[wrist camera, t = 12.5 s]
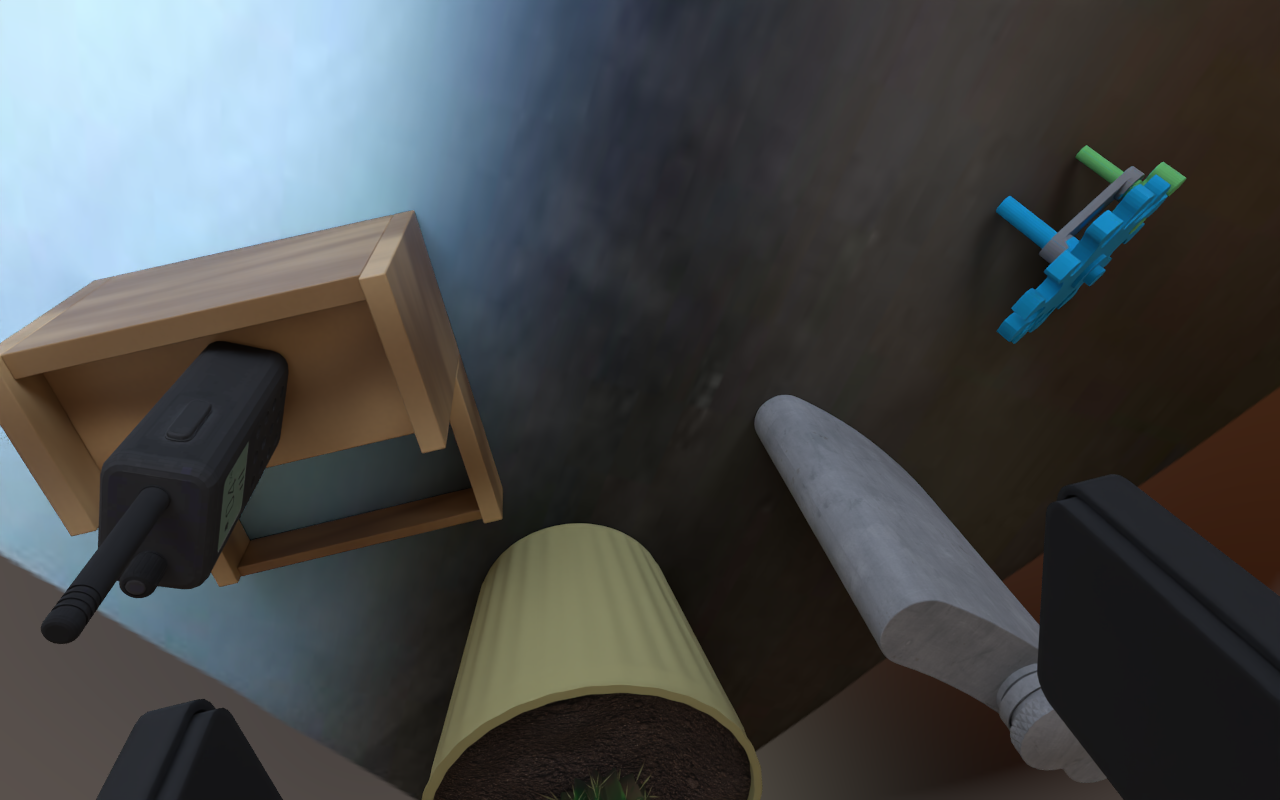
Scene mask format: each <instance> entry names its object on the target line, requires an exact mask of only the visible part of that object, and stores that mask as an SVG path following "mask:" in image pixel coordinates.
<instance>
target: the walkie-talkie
mask: <svg viewBox="0 0 1280 800" xmlns="http://www.w3.org/2000/svg"><path fill="white" fill-rule="evenodd" d="M288 374H289V370H288V363H287V361H286V359H285V358H284V357H283V356H282V355H281V354H280V353H277V352H275V351H272V350H267V349H262V348H257V347H252V346H247V345H242V344H237V343H232V342H226V341H215V342H213V343H211V344H209V345H208V346H207V347H206V348H205V349H204V350H203V351H202V352H201V353H200V355H199V356H198V357H197V358H196V359H195V360H194V361H193V363H192V364H191V365H190V366H189V367H188V368H187V369H186V370H185V372H184V373H183V374H182V375H181V376H180V377H179V378H178V379H177V381H176V382H175V383H174V384H173V385H172V386H171V387H170V389H169V390H168V391H167V392H166V393H165V394H164V395H163V396H162V398H161V399H160V400H159V401H158V402H157V403H156V404H155V405H154V407H153V408H152V409H151V410H150V411H149V412H148V413H147V415H146V416H145V417H144V418H143V419H142V420H141V421H140V422H139V424H138V425H137V426H136V427H135V428H134V429H133V430H132V432H131V433H130V434H129V435H128V436H127V437H126V438H125V439H124V441H123V442H122V443H121V444H120V445H119V446H118V447H117V448H116V450H115V451H114V452H113V453H112V454H111V455H110V456H109V458H108V459H107V460H106V461H105V462H104V463H103V466H102V470H101V473H100V498H99V534H98V550H97V551H96V552H95V554H94V555H93V556H92V558H91V559H90V560H89V562H88V563H87V564H86V565H85V567H84V568H83V569H82V571H81V572H80V573H79V575H78V576H77V577H76V579H75V580H74V581H73V583H72V584H71V585H70V587H69V588H68V589H67V591H66V592H65V593H64V595H63V596H62V597H61V599H60V600H59V601H58V603H57V604H56V606H55V607H54V608H53V609H52V611H51V612H50V613H49V614H48V616H47V617H46V619H45V620H44V621H43V623H42V626H41V632H42V634H43V636H44V637H45V638H46V639H47V640H49V641H50V642H53V643H57V644H65V643H70V642H72V641H74V640H75V639H76V638H77V637H78V636H79V635H80V634H81V632H82V631H83V629H84V627H85V626H86V625H87V623H88V622H89V620H90V619H91V617H92V616H93V615H94V613H95V611H96V610H97V609H98V607H99V605H100V604H101V603H102V601H103V600H104V598H105V597H106V595H107V594H108V593H109V591H110V590H111V588H112V587H113V585H114V584H115V582H116V581H119V585H120V588H121V590H122V591H123V592H124V593H125V594H126V595H128V596H130V597H133V598H144V597H147V596H149V595H151V594H152V593H153V592H154V590H155V589H156V587H157V586H161V587H169V588H177V589H192V588H195V587H197V586H200V585H201V584H202V583H203V582H204V581H205V580H206V579H207V578H208V577H209V575H210V573H211V571H212V569H213V567H214V566H215V564H216V562H217V560H218V558H219V556H220V554H221V552H222V550H223V548H224V546H225V545H226V543H227V541H228V539H229V537H230V535H231V533H232V531H233V529H234V527H235V526H236V524H237V522H238V520H239V518H240V516H241V514H242V512H243V510H244V508H245V506H246V505H247V503H248V501H249V499H250V497H251V495H252V493H253V491H254V489H255V487H256V486H257V484H258V482H259V480H260V478H261V476H262V474H263V472H264V470H265V468H266V466H267V465H268V463H269V461H270V459H271V457H272V455H273V453H274V451H275V449H276V447H277V446H278V443H279V441H280V437H281V429H282V421H283V413H284V405H285V397H286V390H287V382H288Z"/></svg>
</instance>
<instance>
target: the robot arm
mask: <svg viewBox="0 0 1280 800" xmlns="http://www.w3.org/2000/svg"><path fill="white" fill-rule="evenodd" d="M1037 675H1038V680H1039V684H1040V686H1041V689H1042V691H1043V693H1044V695H1045V697H1046V699H1047V701H1048V702H1049V704H1050V705H1051V706H1052V708H1053V709H1054V710H1055V711H1056V713H1057V714H1058V715H1059V717H1060V718H1061V719H1062V721H1063V722H1064V723H1065V724H1066V726H1067V727H1068V728H1069V730H1070V731H1071V732H1072V733H1073V735H1074V736H1075V737H1076V739H1077V740H1078V741H1079V743H1080V744H1081V745H1082V746H1083V748H1084V749H1085V750H1086V752H1087V753H1088V754H1089V755H1090V757H1091V758H1092V759H1093V761H1094V762H1095V763H1096V765H1097V766H1098V767H1099V768H1100V770H1101V771H1102V772H1103V774H1104V775H1105V776H1106V777H1107V779H1108V780H1109V781H1110V783H1111V784H1112V785H1113V787H1114V788H1115V789H1116V790H1117V791H1118V793H1119V794H1120V796H1121V797H1122V798H1123V799H1124V800H1280V596H1278V595H1277V594H1276V593H1274V592H1273V591H1272V590H1270V589H1269V588H1268V587H1267V586H1265V585H1264V584H1263V583H1261V582H1260V581H1259V580H1257V579H1256V578H1255V577H1253V576H1252V575H1251V574H1250V573H1248V572H1247V571H1246V570H1244V569H1243V568H1242V567H1241V566H1239V565H1238V564H1237V563H1235V562H1234V561H1233V560H1231V559H1230V558H1229V557H1228V556H1226V555H1225V554H1224V553H1222V552H1221V551H1220V550H1218V549H1217V548H1216V547H1214V546H1213V545H1212V544H1211V543H1209V542H1208V541H1207V540H1205V539H1204V538H1203V537H1202V536H1200V535H1199V534H1198V533H1196V532H1195V531H1194V530H1192V529H1191V528H1190V527H1188V526H1187V525H1186V524H1185V523H1183V522H1182V521H1180V520H1179V519H1178V518H1177V517H1175V516H1174V515H1173V514H1171V513H1170V512H1169V511H1168V510H1166V509H1165V508H1164V507H1162V506H1161V505H1160V504H1159V503H1157V502H1156V501H1155V500H1153V499H1152V498H1151V497H1149V496H1148V495H1147V494H1145V493H1144V492H1143V491H1141V490H1140V489H1139V488H1138V487H1136V486H1135V485H1134V484H1133V483H1131V482H1130V481H1129V480H1127V479H1125V478H1124V477H1122V476H1120V475H1114V474H1111V475H1107V476H1103V477H1099V478H1095V479H1091V480H1087V481H1083V482H1079V483H1075V484H1071V485H1067V486H1065V487H1062V489H1061V490H1060V492H1059V493H1058V498H1057V501H1056V502H1053V503H1051V504H1050V505H1049V506H1048V508H1047V512H1046V526H1045V543H1044V561H1043V577H1042V594H1041V612H1040V628H1039V645H1038V662H1037ZM96 800H283V799H282V798H281V796H280V794H279V793H278V791H277V789H276V787H275V786H274V784H273V782H272V781H271V779H270V778H269V776H268V774H267V772H266V771H265V769H264V768H263V766H262V764H261V762H260V761H259V759H258V758H257V756H256V754H255V753H254V751H253V749H252V747H251V746H250V744H249V742H248V741H247V739H246V737H245V736H244V734H243V732H242V731H241V729H240V727H239V726H238V724H237V723H236V721H235V719H234V718H233V716H232V714H231V713H230V712H229V711H228V710H226V709H225V708H219V709H215V708H214V706H213V705H212V704H211V703H210V702H208V701H207V700H205V699H201V700H200V699H199V700H194V701H190V702H186V703H182V704H178V705H173V706H169V707H165V708H161V709H158V710H154V711H149V712H147V713H145V714H144V715H143V716H141V717H140V718H139V720H138V721H137V723H136V724H135V726H134V727H133V730H132V731H131V733H130V735H129V737H128V739H127V741H126V743H125V745H124V747H123V749H122V751H121V752H120V755H119V756H118V758H117V760H116V762H115V764H114V766H113V768H112V770H111V772H110V774H109V776H108V777H107V779H106V781H105V783H104V785H103V787H102V789H101V791H100V793H99V795H98V797H97V799H96Z"/></svg>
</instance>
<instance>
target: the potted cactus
mask: <svg viewBox="0 0 1280 800" xmlns="http://www.w3.org/2000/svg"><path fill="white" fill-rule="evenodd" d="M761 778H762V777H761V766H760V763H759V761H758V758H757V756H756V753H755V750H754V748H753V745H752V744H751V742H750V741H749V739H748V738H747V736H746V734H745V731H744V728H743V726H742V724H741V722H740V720H739V718H738V716H737V714H736V712H735V710H734V709H733V707H732V705H731V703H730V701H729V699H728V697H727V695H726V694H725V692H724V690H723V688H722V686H721V684H720V682H719V680H718V678H717V676H716V675H715V673H714V671H713V669H712V667H711V665H710V663H709V661H708V659H707V657H706V655H705V654H704V652H703V650H702V648H701V646H700V644H699V642H698V640H697V638H696V636H695V634H694V633H693V631H692V629H691V627H690V625H689V623H688V621H687V619H686V617H685V615H684V613H683V611H682V610H681V608H680V606H679V604H678V602H677V600H676V598H675V596H674V594H673V592H672V590H671V588H670V586H669V585H668V583H667V581H666V579H665V577H664V575H663V573H662V571H661V569H660V567H659V565H658V564H657V563H656V562H655V560H654V559H653V557H652V556H651V554H650V553H649V552H648V551H647V550H646V549H645V548H644V547H643V546H642V545H641V544H640V543H638V542H637V541H636V540H635V539H633V538H631V537H630V536H628V535H626V534H624V533H622V532H620V531H618V530H615V529H612V528H609V527H605V526H601V525H594V524H584V523H578V524H563V525H558V526H553V527H548V528H545V529H542V530H539V531H537V532H534V533H532V534H530V535H528V536H526V537H524V538H522V539H520V540H519V541H517V542H516V543H514V544H513V545H512V546H510V547H509V548H508V549H507V550H506V551H504V552H503V553H502V554H501V555H500V556H499V558H498V559H497V560H496V561H495V562H494V564H493V565H492V566H491V568H490V570H489V572H488V574H487V575H486V578H485V580H484V582H483V583H482V586H481V590H480V593H479V597H478V601H477V605H476V608H475V612H474V616H473V619H472V623H471V627H470V631H469V634H468V638H467V642H466V645H465V649H464V653H463V657H462V660H461V664H460V668H459V671H458V675H457V679H456V682H455V686H454V690H453V694H452V697H451V701H450V705H449V708H448V712H447V716H446V719H445V723H444V727H443V730H442V734H441V737H440V741H439V745H438V748H437V752H436V755H435V759H434V762H433V766H432V770H431V776H430V779H429V782H428V783H427V785H426V787H425V789H424V792H423V796H422V800H760V798H761V794H762V779H761Z"/></svg>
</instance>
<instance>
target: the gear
mask: <svg viewBox="0 0 1280 800" xmlns="http://www.w3.org/2000/svg"><path fill="white" fill-rule="evenodd" d="M1076 159H1078V160H1079V161H1081V162H1082V163H1083V164H1085V165H1086V166H1087V167H1089V168H1090V169H1092V170H1093V171H1094V172H1096V173H1097V174H1098V175H1100V176H1101V177H1102V178H1104V179H1105V180H1107V181H1108V182H1109V183H1111V185H1110V186H1108V187H1107V188H1106V189H1105V190H1104V191H1103V192H1102V193H1101V194H1100V195H1099V196H1097V197H1096V198H1095V199H1094V200H1093V201H1092V202H1091V203H1090V204H1089V205H1088V206H1086V207H1085V208H1084V209H1083V210H1082V211H1081V212H1080V213H1079V214H1078V215H1077V216H1075V217H1074V218H1073V219H1072V220H1071V221H1070V222H1069V223H1068V224H1067V225H1066V226H1064V227H1063V228H1062V229H1061V230H1060V231H1059V232H1058V233H1057V232H1056V231H1055V230H1054V229H1052V228H1051V227H1050V226H1048V225H1047V224H1046V223H1045V222H1043V221H1042V220H1041V219H1039V218H1038V217H1037V216H1036V215H1034V214H1033V213H1032V212H1030V211H1029V210H1028V209H1027V208H1025V207H1024V206H1023V205H1022V204H1020V203H1019V202H1018V201H1016V200H1015V199H1014V198H1013V197H1011V196H1009V197H1007V198H1006V199H1005V200H1004V201H1003V202H1002V203H1001V204H1000V205H999V206H998V208H997V209H996V213H998V214H999V215H1000V216H1002V217H1003V218H1004V219H1005V220H1007V221H1008V222H1009V223H1010V224H1012V225H1013V226H1014V227H1015V228H1017V229H1018V230H1019V231H1020V232H1022V233H1023V234H1024V235H1025V236H1027V237H1028V238H1029V239H1030V240H1032V241H1033V242H1034V243H1035V244H1037V245H1038V246H1039V247H1041V248H1042V250H1041V251H1040V253H1039V255H1040V256H1041V257H1042V258H1044V259H1045V260H1046V261H1047V262H1049V263H1050V265H1049V266H1048V267H1047V268H1046V269H1045V271H1044V273H1045V274H1046V275H1048V276H1047V278H1046V279H1045V280H1044V282H1043V283H1042V284H1041V285H1040V286H1039V287H1038V288H1037V289H1035V290H1034V289H1033V288H1031V289H1029V290H1028V291H1027V292H1026V293H1025V294H1024V295H1023V296H1022V297H1021V298H1020V299H1019V300H1018V301H1017V302H1016V304H1015V305H1014V306H1013V307H1012V308H1011V309H1012V310H1013V311H1014V313H1012V314H1011V315H1010V316H1009V317H1008V318H1006V319H1005V320H1004V321H1003V323H1002V324H1001V325H1000V327H999V328H998V330H997V332H998V333H999V334H1000V335H1002V336H1003V337H1004V338H1005V339H1006V340H1007V341H1009V342H1010V341H1011V342H1012V343H1014V344H1015V343H1016V342H1018V341H1019V340H1020V339H1021V338H1022V337H1023V336H1024V335H1025V334H1026V333H1027V332H1028V331H1029V332H1032V331H1034V330H1035V329H1036V328H1038V327H1039V326H1040V325H1041V324H1042V323H1043V322H1044V321H1045V320H1046V318H1047V317H1048V316H1049V315H1050V314H1051V313H1052V312H1053V310H1054V309H1055V308H1057V309H1059V308H1061V307H1062V306H1063V305H1064V304H1065V303H1067V302H1068V301H1069V300H1070V299H1071V298H1072V297H1073V296H1074V295H1075V294H1076V293H1077V290H1078V289H1079V288H1080V286H1081V285H1082V284H1083V283H1084V282H1085V283H1086V284H1087V285H1088V286H1091V285H1092V284H1093V283H1094V282H1095V281H1096V280H1098V279H1099V278H1100V277H1101V276H1102V274H1103V273H1104V272H1105V271H1106V270H1105V269H1104V268H1103V267H1105V266H1106V265H1107V264H1108V263H1109V262H1110V260H1111V259H1112V258H1111V257H1110V255H1111V254H1112V253H1113V251H1114V250H1115V249H1116V248H1117V247H1118V246H1119V245H1120V244H1121V243H1123V244H1126V243H1127V242H1128V241H1129V240H1130V239H1131V238H1132V237H1133V236H1134V235H1135V234H1136V233H1137V232H1138V231H1139V230H1140V229H1141V228H1142V227H1143V226H1144V225H1145V224H1144V223H1143V222H1144V220H1145V219H1146V218H1147V217H1149V216H1150V215H1151V214H1152V213H1153V212H1154V211H1155V210H1156V209H1157V208H1158V207H1159V206H1160V205H1161V204H1162V203H1163V202H1164V200H1165V199H1166V198H1167V197H1168V196H1170V195H1171V194H1172V193H1173V192H1174V191H1175V190H1176V189H1177V188H1179V186H1180V185H1181V184H1182V183H1183V182H1184V181H1185V180H1186V177H1184V176H1183V175H1181V174H1180V173H1179V172H1177V171H1176V170H1174V169H1173V168H1171V167H1170V166H1169V165H1167V164H1166V163H1164V162H1162V163H1160V164H1159V165H1158V166H1157V167H1156V168H1155V169H1154V170H1153V171H1152V172H1151V173H1150V174H1149V175H1148V177H1147V178H1146V179H1145V180H1144V181H1143V182H1142V181H1141V180H1142V179H1143V178H1144V176H1145V174H1144V173H1142V172H1141V171H1139V170H1138V169H1137V168H1135V167H1134V166H1131V167H1130V168H1128V169H1127V170H1126V171H1125V172H1123V171H1121V170H1120V169H1119V168H1117V167H1116V166H1115V165H1113V164H1112V163H1110V162H1109V161H1108V160H1106V159H1105V158H1103V157H1102V156H1101V155H1099V154H1098V153H1097V152H1095V151H1094V150H1092V149H1091V148H1090V147H1088V146H1087V145H1086V146H1085V147H1084V148H1082V149H1081V150H1080V152H1079V153H1078V154H1077V155H1076ZM1114 199H1115V200H1117V201H1118V202H1119V201H1121V202H1120V203H1119V204H1118V205H1117V207H1116V208H1115V209H1114V210H1113V211H1112V212H1110V211H1109V210H1107V211H1106V212H1105V213H1103V214H1102V215H1101V216H1100V217H1098V218H1097V219H1096V220H1095V221H1094V222H1093V223H1092V224H1091V225H1090V226H1089V227H1088V228H1087V230H1086V231H1085V234H1084V236H1083V237H1082V239H1081V240H1080V241H1079V240H1078V239H1076V238H1075V237H1074V235H1076V234H1077V233H1078V232H1079V231H1080V230H1081V229H1082V228H1083V227H1084V226H1085V225H1087V224H1088V223H1089V222H1090V221H1091V220H1092V219H1093V218H1094V217H1095V216H1096V215H1098V214H1099V213H1100V212H1101V211H1102V210H1103V209H1104V208H1105V207H1106V206H1107V205H1109V204H1110V203H1111V202H1112V201H1113V200H1114Z"/></svg>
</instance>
